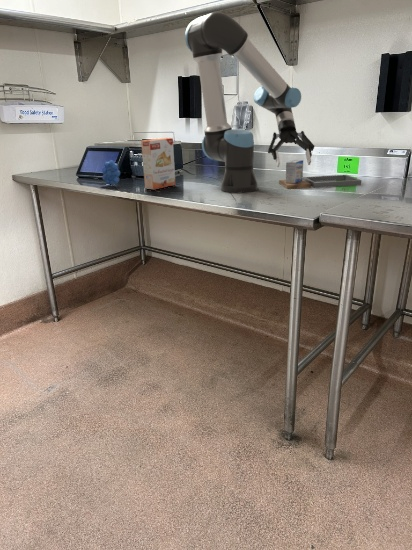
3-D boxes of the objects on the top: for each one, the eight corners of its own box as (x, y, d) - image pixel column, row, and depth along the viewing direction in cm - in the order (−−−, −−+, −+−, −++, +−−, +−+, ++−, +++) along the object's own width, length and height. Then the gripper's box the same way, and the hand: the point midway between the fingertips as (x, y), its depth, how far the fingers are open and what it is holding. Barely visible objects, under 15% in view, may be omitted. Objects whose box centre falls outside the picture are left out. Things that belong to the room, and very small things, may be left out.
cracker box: (154, 191, 176) (149, 140, 168) (144, 190, 180) (139, 140, 172) (176, 186, 186) (173, 137, 178) (167, 184, 189) (163, 137, 181)
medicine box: (295, 183, 171) (296, 162, 167) (285, 183, 173) (285, 162, 170) (302, 180, 176) (303, 160, 173) (293, 180, 179) (293, 159, 176)
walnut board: (287, 189, 169) (287, 185, 168) (279, 183, 181) (279, 180, 180) (310, 187, 170) (311, 183, 169) (301, 182, 182) (301, 178, 181)
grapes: (128, 185, 191) (125, 159, 187) (117, 188, 186) (114, 161, 182) (111, 184, 198) (107, 158, 193) (100, 186, 193) (96, 160, 188)
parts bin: (313, 187, 169) (314, 182, 168) (302, 181, 182) (302, 177, 182) (360, 185, 170) (361, 180, 169) (346, 179, 184) (346, 174, 183)
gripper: (311, 129, 188) (320, 167, 180) (257, 132, 186) (264, 171, 179) (315, 117, 181) (325, 156, 173) (259, 120, 179) (266, 160, 172)
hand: (294, 164), depth 176 cm, fingers open, 13 cm apart
